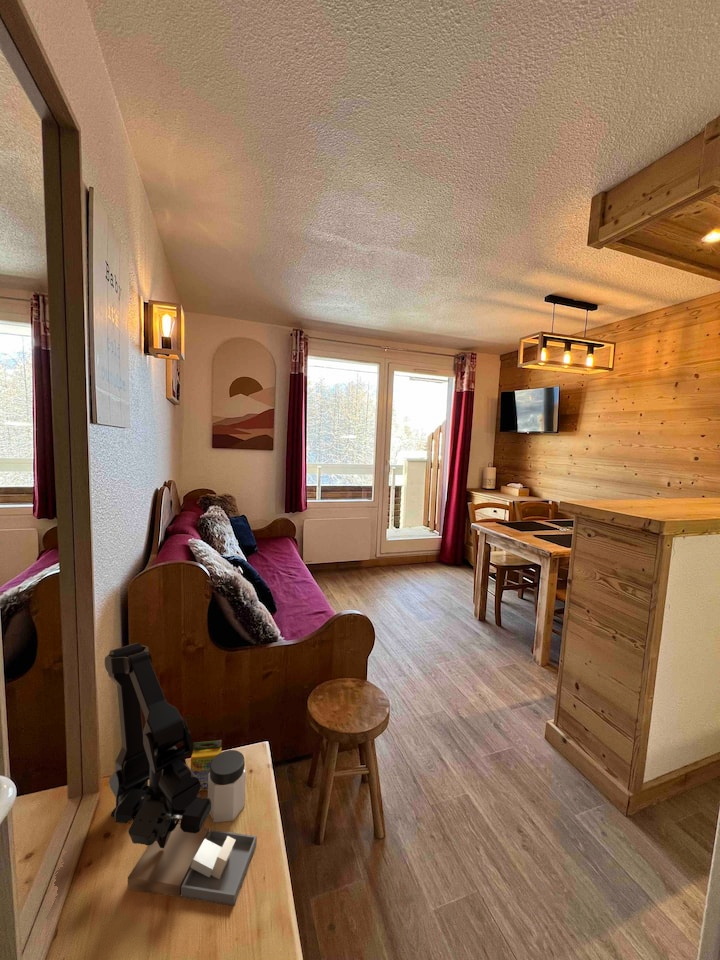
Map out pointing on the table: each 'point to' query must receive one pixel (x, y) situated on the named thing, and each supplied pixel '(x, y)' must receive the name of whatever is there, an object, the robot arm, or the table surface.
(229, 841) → the tile
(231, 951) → the table surface
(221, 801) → the jar
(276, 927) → the table surface
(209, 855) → the tile
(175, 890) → the brown board
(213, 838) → the tray
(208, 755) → the crayon box
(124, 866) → the table surface
